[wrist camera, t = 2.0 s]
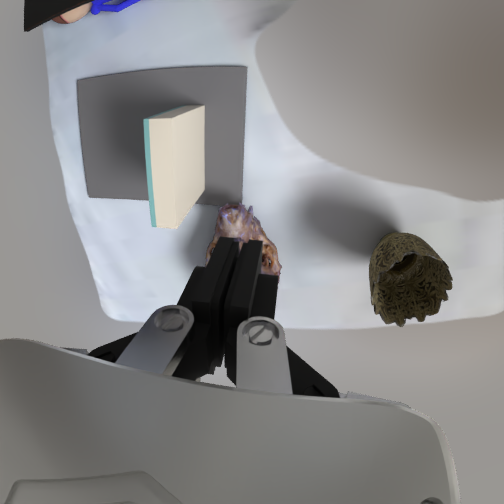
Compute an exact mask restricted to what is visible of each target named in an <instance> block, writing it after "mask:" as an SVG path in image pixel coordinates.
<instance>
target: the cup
mask: <svg viewBox="0 0 504 504" xmlns="http://www.w3.org/2000/svg"><path fill="white" fill-rule="evenodd" d="M448 269H449V267H448V266H447V264H446V263H445V262H444V261H443V260H442V259H441V258H440V256H439V255H438V254H437V253H436V252H435V251H434V250H433V249H432V248H431V247H430V246H429V245H428V244H427V243H426V242H425V241H424V240H423V239H421V238H420V237H418V236H416V235H413V234H409V233H398V232H393V233H389V234H387V235H385V236H384V237H383V238H382V239H381V240H380V242H379V244H378V245H377V247H376V248H375V249H374V251H373V253H372V256H371V259H370V264H369V280H370V291H371V304H372V305H374V312H375V314H376V315H377V314H380V316H381V318H382V320H383V321H384V322H385V323H386V324H391V323H394V322H395V323H396V324H397V325H398V326H400V327H403V326H404V324H405V321H406V319H410V320H411V319H412V317H416V318H417V320H418V322H423V321H424V320H425V317H426V315H429V316H431V315H434V314H437V313H438V312H439V309H440V306H441V301H442V300H444V301H447V300H448V295H447V293H446V290H451V289H452V282H451V281H453V279H452V277H451V274H450V272H449V270H448ZM450 280H451V281H450ZM404 319H405V320H404Z"/></svg>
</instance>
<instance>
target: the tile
mask: <svg viewBox="0 0 504 504" xmlns="http://www.w3.org/2000/svg"><path fill="white" fill-rule="evenodd" d="M204 125H205V105H182V106H179V107H176V108H173V109H170V110H168V111H165V112H162V113H159V114H156V115H153V116H151V117H148V118H145V119H144V141H145V158H146V172H147V184H148V195H149V205H150V215H151V224H152V227H159V228H170V229H177V228H178V227H179V225H180V224H181V222H182V221H183V220H184V218H185V217H186V215H187V214H188V212H189V211H190V210H191V208H192V207H193V205H194V204H195V203H196V201H197V200H198V198H199V197H200V196H201V194H202V193H203V192H204V190H205V161H204Z"/></svg>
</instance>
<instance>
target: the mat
mask: <svg viewBox="0 0 504 504" xmlns="http://www.w3.org/2000/svg"><path fill="white" fill-rule="evenodd" d="M77 86H78V107H79V121H80V132H81V143H82V152H83V160H84V168H85V175H86V182H87V188H88V195H89V198H111V199H132V200H149V195H148V184H147V172H146V158H145V141H144V119H145V118H148V117H151V116H153V115H156V114H159V113H162V112H165V111H168V110H170V109H173V108H176V107H179V106H182V105H205V125H204V161H205V190H204V192H203V193H202V194H201V196H200V197H199V198H198V200H197V201H196V203H195V204H208V205H220V206H225V205H226V204H227V203H228V205H238V206H239V203H241V204H242V187H243V159H244V133H245V109H246V86H247V67H186V68H169V69H156V70H145V71H136V72H127V73H120V74H113V75H106V76H100V77H94V78H88V79H83V80H78V81H77Z"/></svg>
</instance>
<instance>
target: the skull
mask: <svg viewBox="0 0 504 504" xmlns="http://www.w3.org/2000/svg"><path fill="white" fill-rule="evenodd" d="M220 236H221V237H231V238H234V239H235V242H239V254H240V251H241V247H242V244H243V242H244V243H248V241H249V239H251V240H261V241H263V251H262V260H263V262H262V265H261V274H269V275H280V274H281V273H280V270H281V268H282V266H281V265H280V263H279V261H278V255H277V248H276V246H275V245H274V244H273V242H271V241H270V240H269V239H268V238H267V237H266V234H265V232H264V231H263V228H261V225H260V221H259V220H258V219H257V218H256V217H255V216H254V219H253V207H252V206H250V207H249V210H248V212H247V211H246V208H245V206H244V205H242V204H241V203H239V206H238V205H228V203H227V204H226V205H225V206H223V207H221V208H220V209H219V212H218V218H217V225H216V227H215V235H214V240H213V241H212V242H211V243H210V245H209V247H208V249H207V253H206V264H205V267H206V266H207V264H208V262H209V259H210V257H211V255H212V253H211V252H212V249H213V248H214V247H215V246H216V244H217V242H218V239H219V237H220ZM268 259H270V260H271V264H270V265H269V261H268ZM279 278H280V277H279ZM279 278H278V283H279ZM277 289H278V288H277Z"/></svg>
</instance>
